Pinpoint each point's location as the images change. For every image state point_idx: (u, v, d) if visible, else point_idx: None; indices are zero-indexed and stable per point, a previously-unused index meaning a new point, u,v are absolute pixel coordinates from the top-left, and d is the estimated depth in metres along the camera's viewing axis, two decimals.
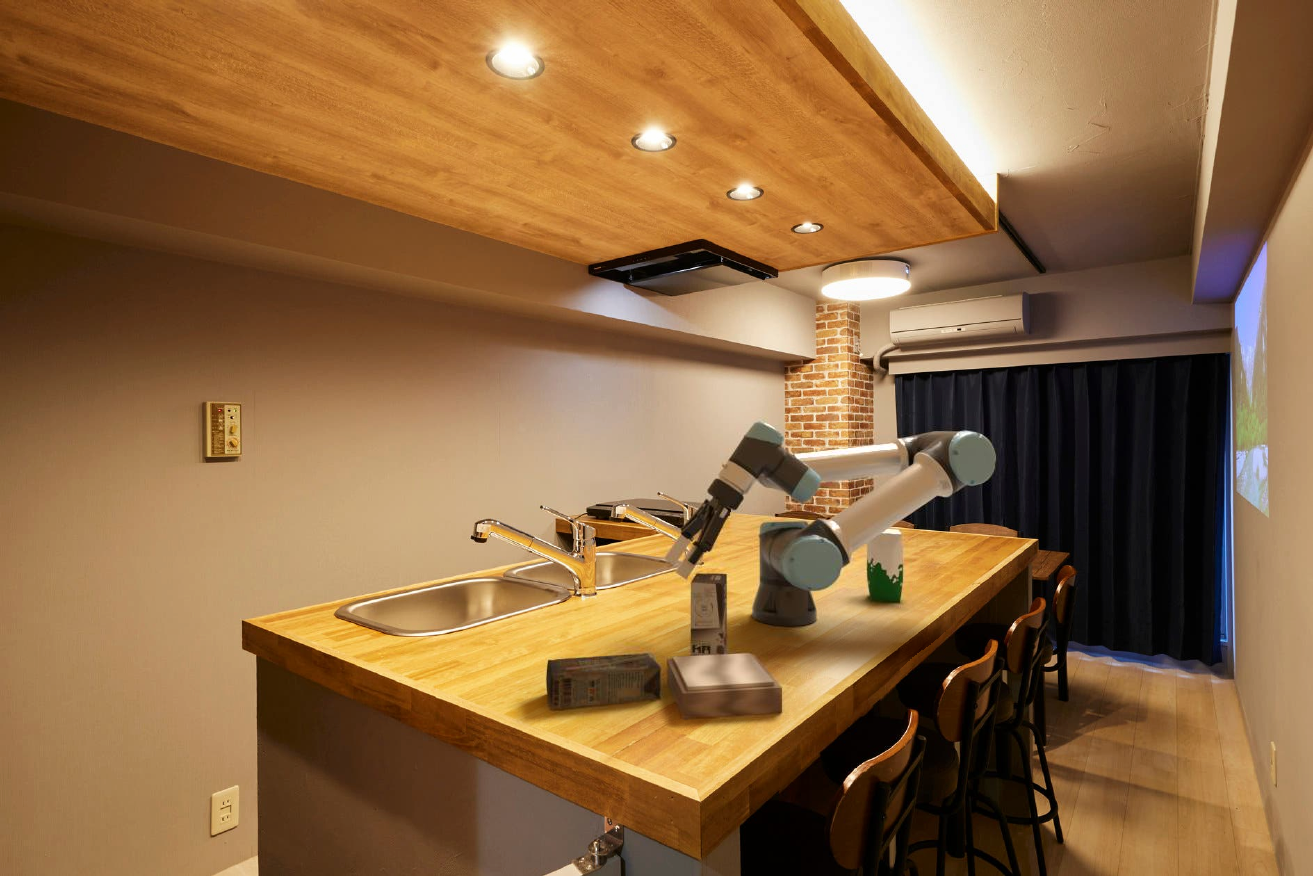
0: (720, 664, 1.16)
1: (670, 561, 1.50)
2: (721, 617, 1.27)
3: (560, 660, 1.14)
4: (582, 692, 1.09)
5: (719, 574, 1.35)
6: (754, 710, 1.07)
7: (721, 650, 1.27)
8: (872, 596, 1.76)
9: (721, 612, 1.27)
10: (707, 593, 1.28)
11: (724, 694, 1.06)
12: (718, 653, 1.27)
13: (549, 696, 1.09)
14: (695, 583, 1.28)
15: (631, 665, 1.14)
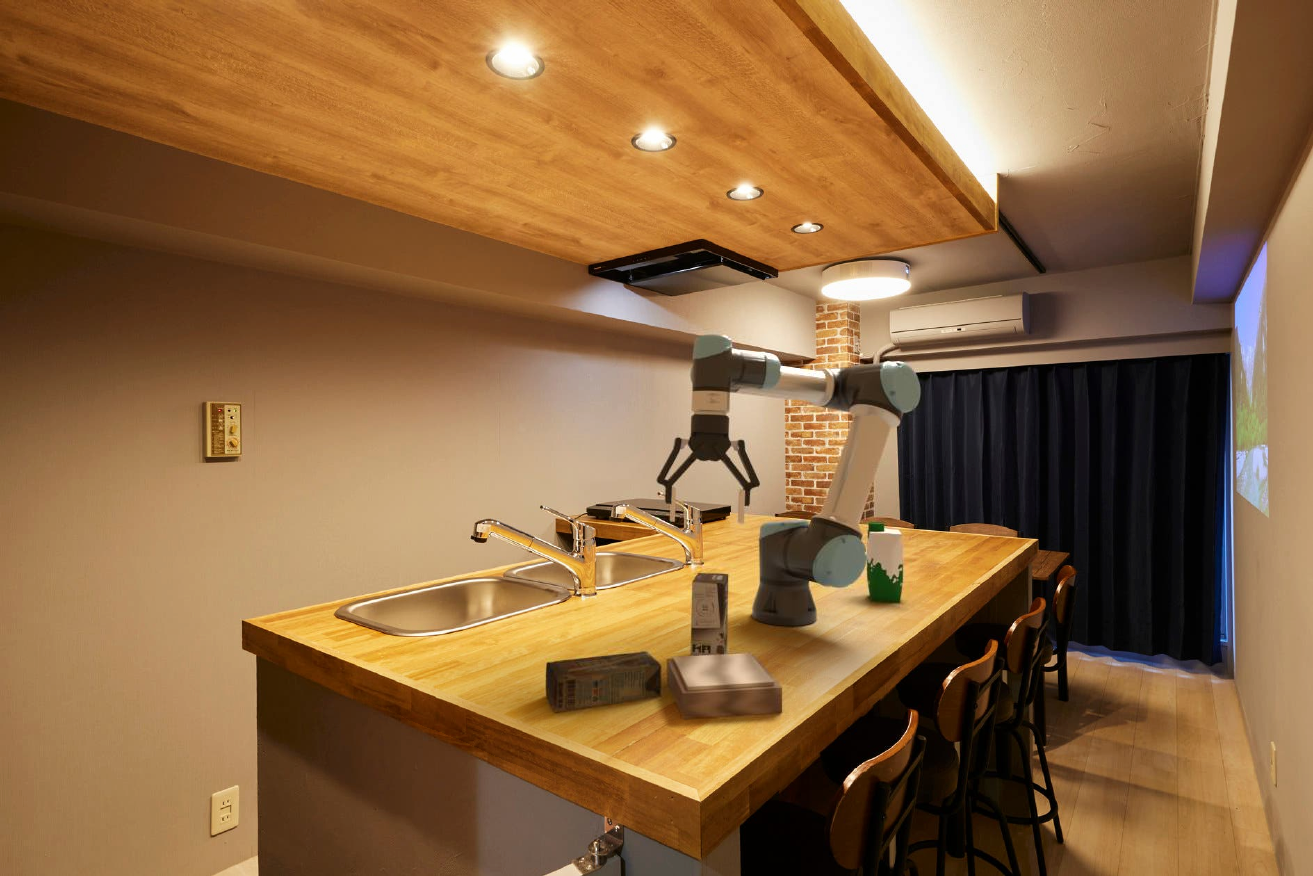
0: (720, 664, 1.16)
1: None
2: (722, 617, 1.27)
3: (559, 662, 1.13)
4: (586, 692, 1.09)
5: (721, 574, 1.35)
6: (754, 710, 1.07)
7: (721, 650, 1.27)
8: (872, 596, 1.76)
9: (722, 612, 1.27)
10: (708, 593, 1.28)
11: (724, 694, 1.06)
12: (718, 653, 1.27)
13: (553, 698, 1.08)
14: (696, 582, 1.28)
15: (631, 663, 1.14)
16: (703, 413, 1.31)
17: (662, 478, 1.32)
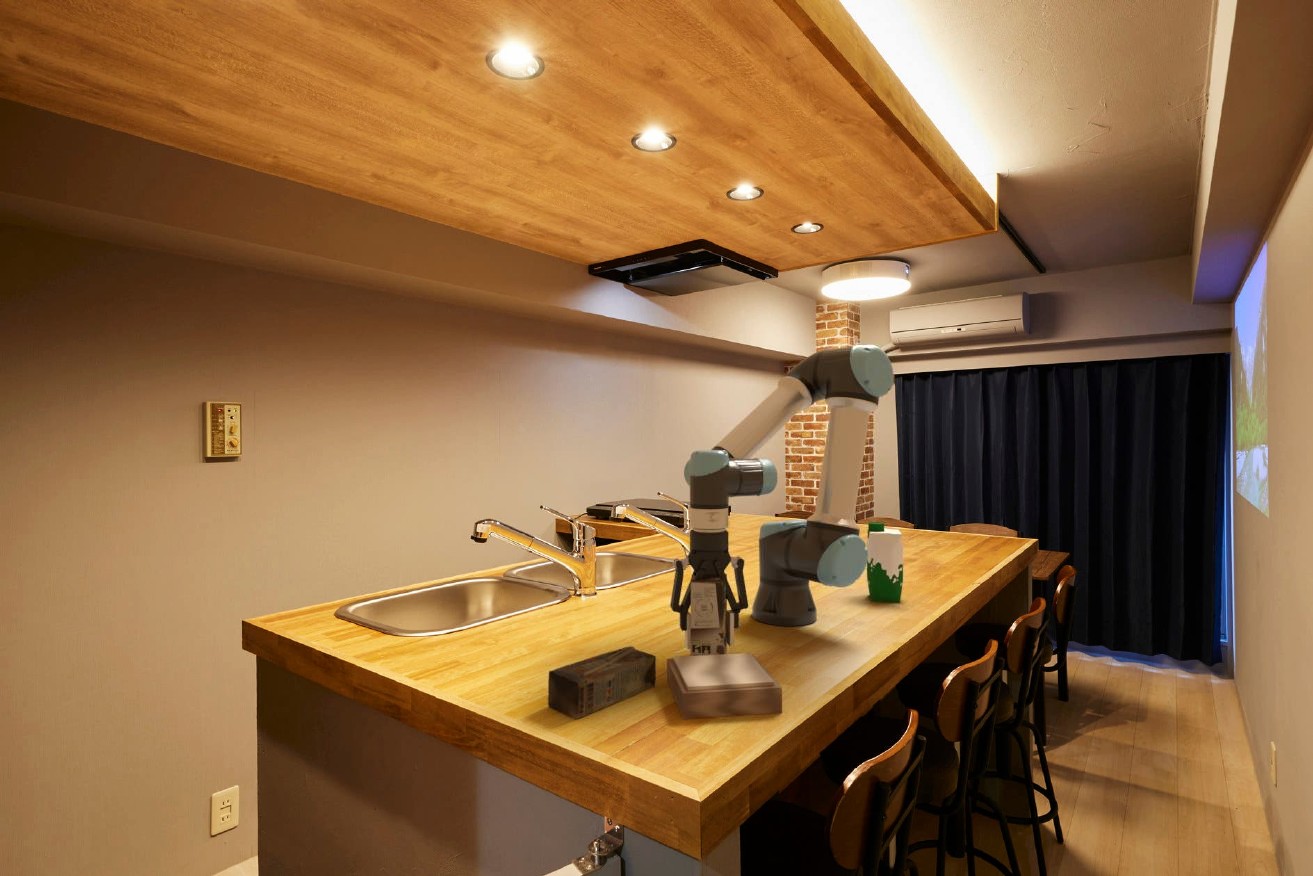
0: (720, 664, 1.16)
1: None
2: (721, 617, 1.27)
3: (563, 668, 1.10)
4: (602, 693, 1.09)
5: None
6: (754, 710, 1.07)
7: (721, 650, 1.27)
8: (872, 596, 1.76)
9: (721, 612, 1.27)
10: (707, 593, 1.28)
11: (724, 694, 1.06)
12: (718, 653, 1.27)
13: (573, 705, 1.05)
14: (695, 583, 1.28)
15: (628, 659, 1.17)
16: (703, 531, 1.29)
17: (676, 605, 1.30)
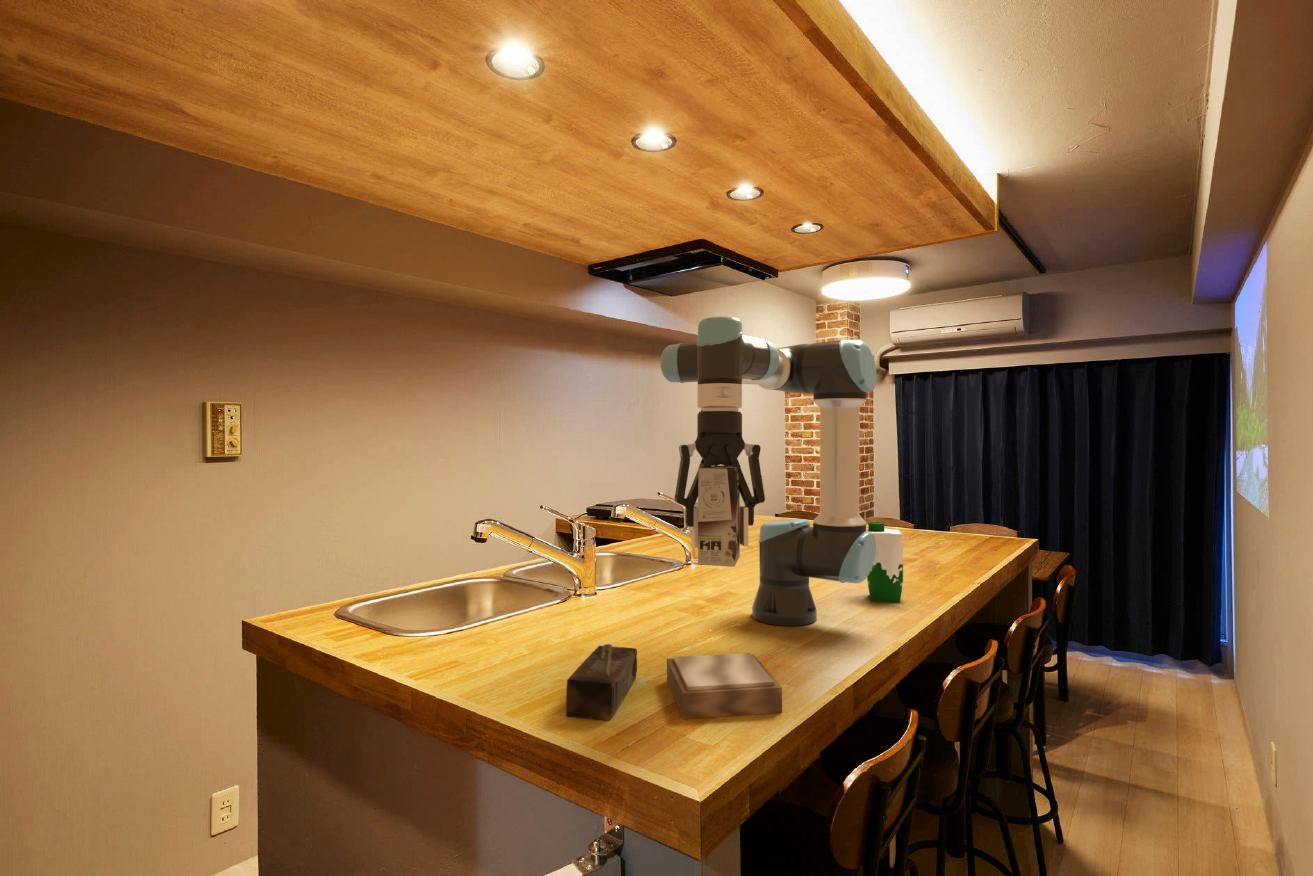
0: (720, 664, 1.16)
1: None
2: (734, 507, 1.09)
3: (579, 674, 1.08)
4: (620, 691, 1.10)
5: None
6: (754, 710, 1.07)
7: (734, 546, 1.09)
8: (872, 596, 1.76)
9: (734, 501, 1.09)
10: (717, 480, 1.10)
11: (724, 694, 1.06)
12: (730, 549, 1.09)
13: (606, 707, 1.05)
14: (703, 469, 1.10)
15: (618, 655, 1.18)
16: (713, 410, 1.11)
17: (681, 497, 1.12)
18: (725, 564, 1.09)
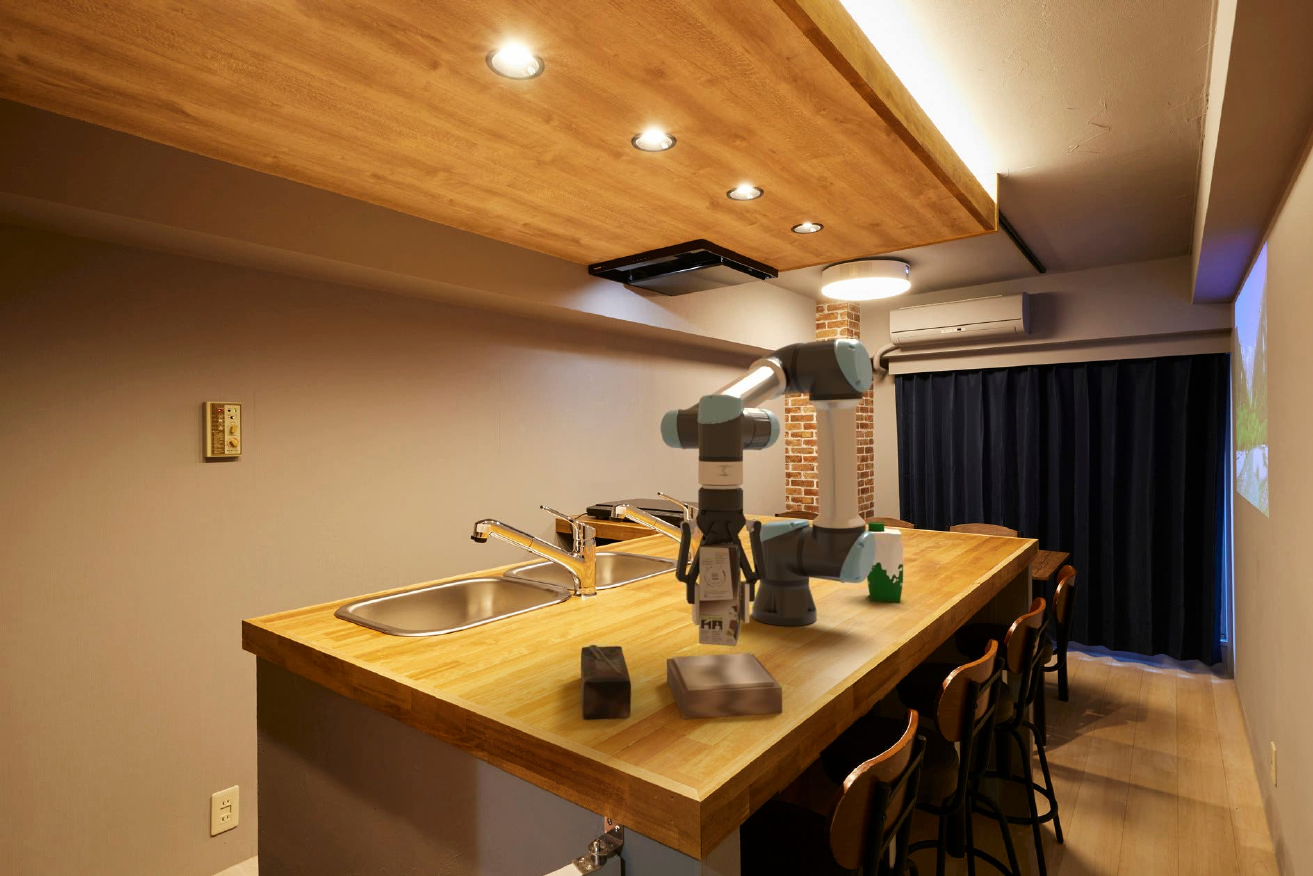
0: (720, 664, 1.16)
1: None
2: (735, 587, 1.09)
3: (593, 676, 1.07)
4: None
5: None
6: (754, 710, 1.07)
7: (735, 625, 1.09)
8: (872, 596, 1.76)
9: (735, 581, 1.09)
10: (719, 559, 1.10)
11: (724, 694, 1.06)
12: (731, 629, 1.09)
13: (626, 705, 1.06)
14: (705, 547, 1.10)
15: (610, 654, 1.19)
16: (714, 488, 1.11)
17: (682, 574, 1.12)
18: (726, 644, 1.09)
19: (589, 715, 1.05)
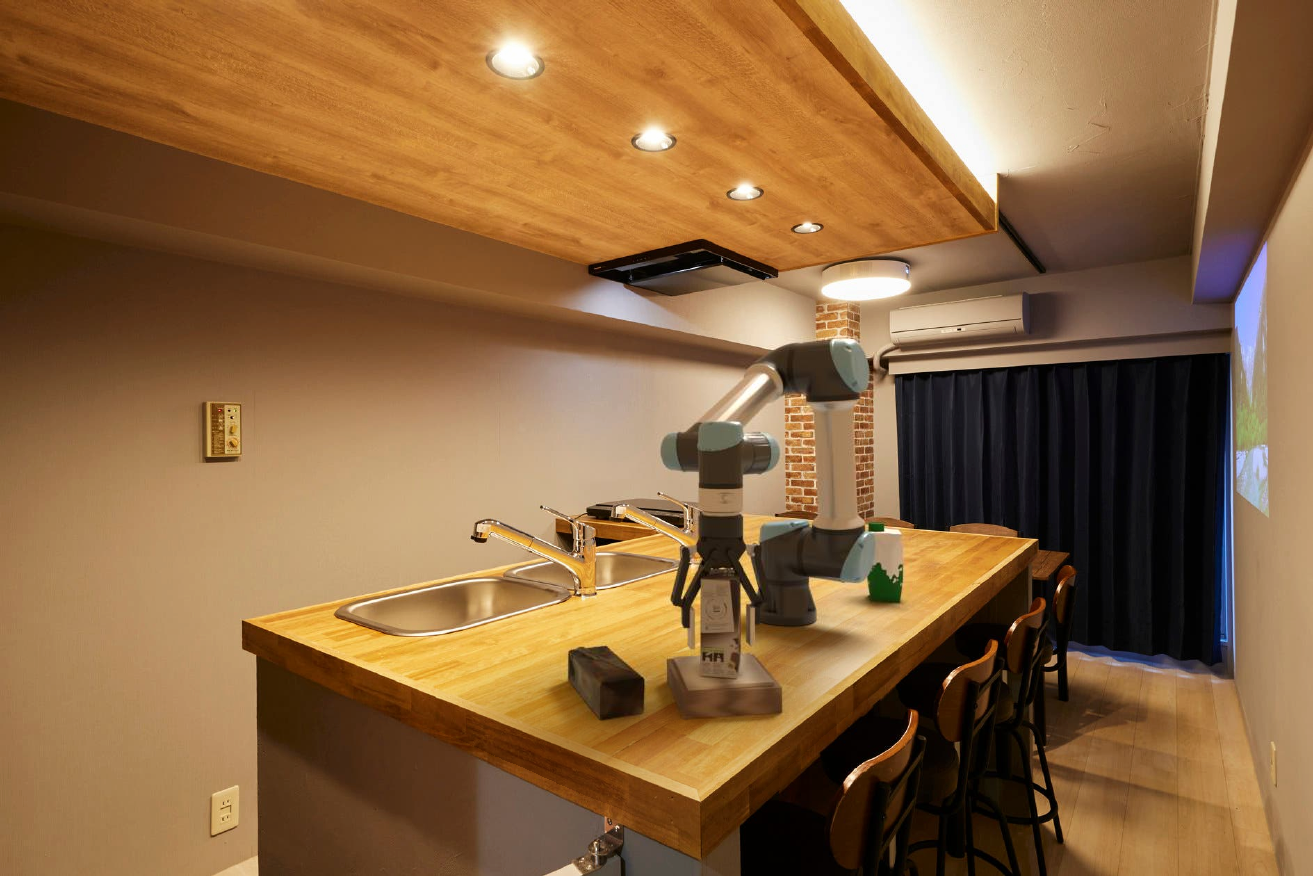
0: None
1: None
2: (736, 619, 1.09)
3: (605, 676, 1.07)
4: None
5: (732, 570, 1.17)
6: (754, 710, 1.07)
7: (736, 658, 1.09)
8: (872, 596, 1.76)
9: (736, 614, 1.09)
10: (720, 591, 1.10)
11: (724, 694, 1.06)
12: (733, 661, 1.09)
13: (640, 701, 1.07)
14: (706, 580, 1.10)
15: (603, 654, 1.19)
16: (714, 515, 1.11)
17: (678, 599, 1.12)
18: (728, 676, 1.09)
19: (606, 715, 1.05)
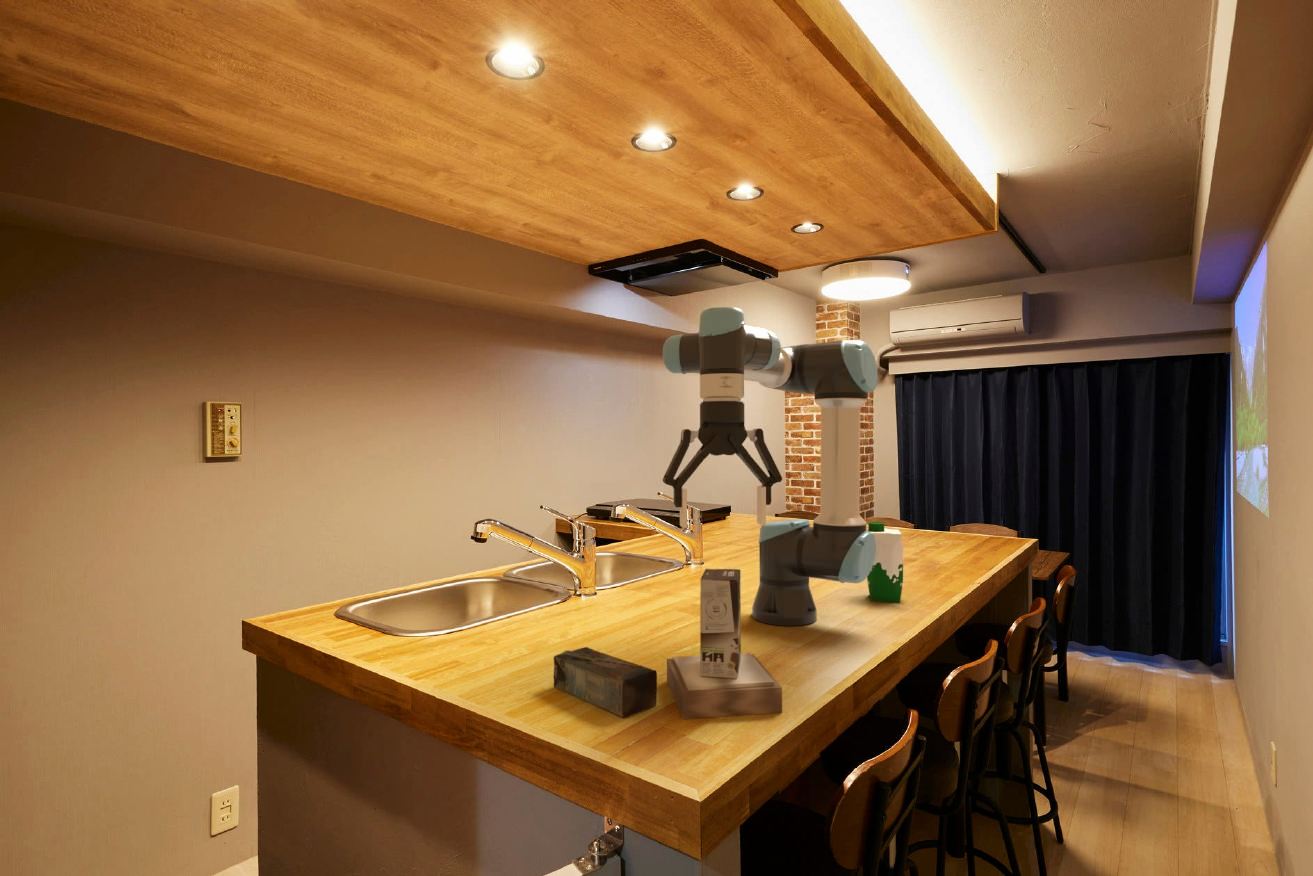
0: None
1: None
2: (736, 620, 1.09)
3: (622, 674, 1.08)
4: None
5: (732, 570, 1.17)
6: (754, 710, 1.07)
7: (736, 658, 1.09)
8: (872, 596, 1.76)
9: (736, 614, 1.09)
10: (720, 592, 1.10)
11: (724, 694, 1.06)
12: (733, 661, 1.09)
13: (654, 693, 1.10)
14: (706, 580, 1.10)
15: (592, 655, 1.19)
16: (715, 400, 1.12)
17: (670, 478, 1.12)
18: (728, 676, 1.09)
19: (628, 712, 1.06)
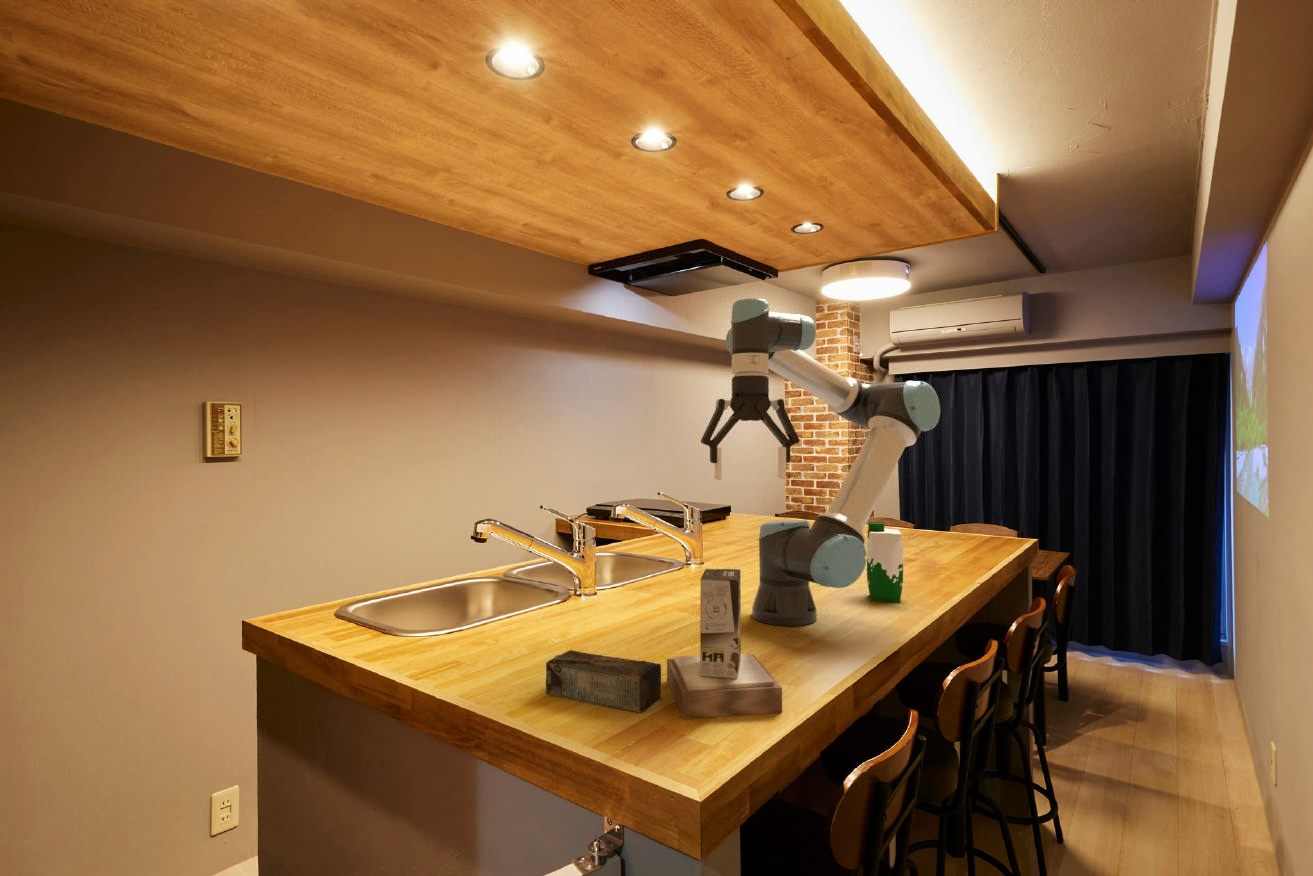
0: None
1: None
2: (736, 620, 1.09)
3: (634, 670, 1.09)
4: None
5: (732, 570, 1.17)
6: (754, 710, 1.07)
7: (736, 658, 1.09)
8: (872, 596, 1.76)
9: (736, 614, 1.09)
10: (720, 592, 1.10)
11: (724, 694, 1.06)
12: (733, 661, 1.09)
13: (660, 686, 1.13)
14: (706, 580, 1.10)
15: (584, 657, 1.18)
16: (745, 374, 1.36)
17: (708, 438, 1.37)
18: (728, 676, 1.09)
19: (644, 707, 1.08)
